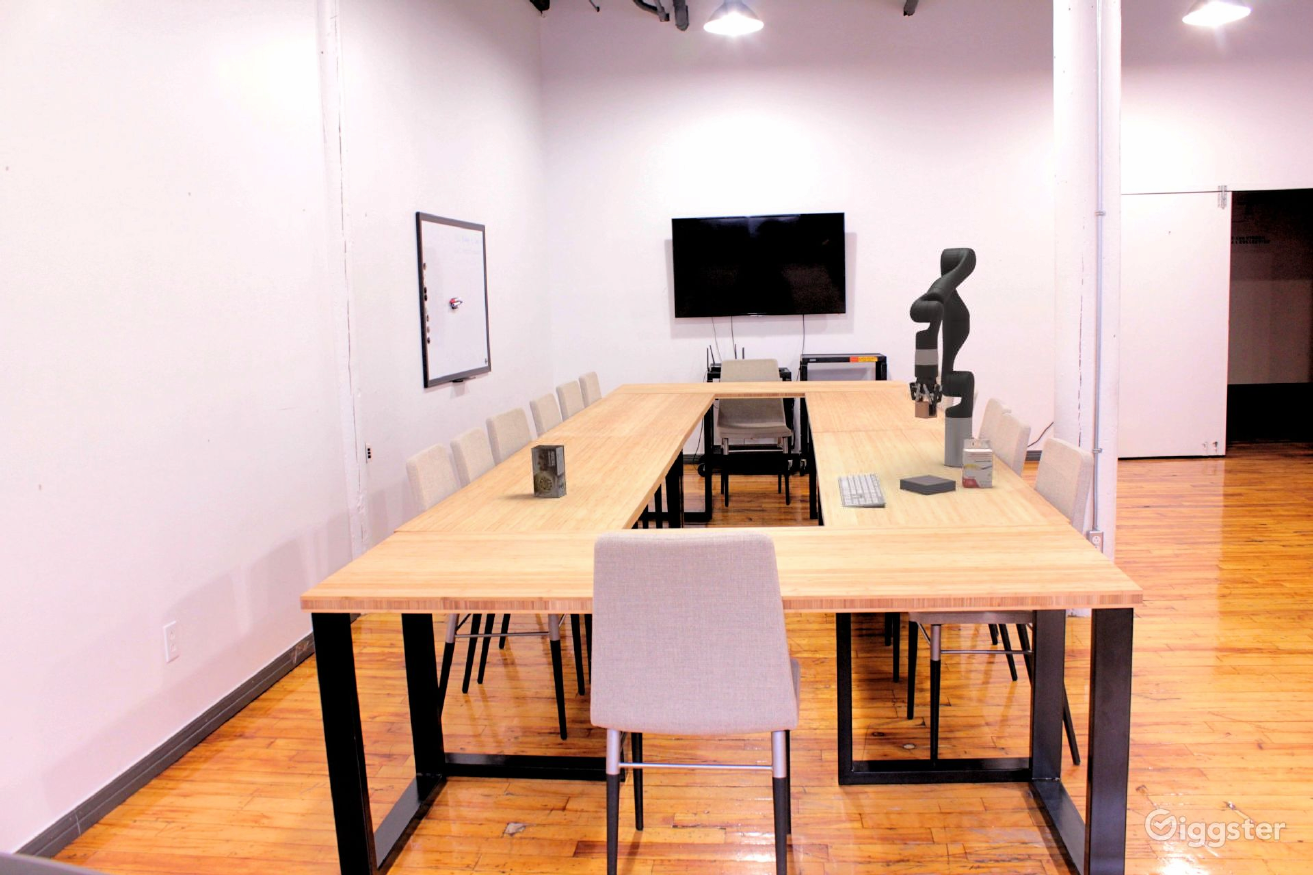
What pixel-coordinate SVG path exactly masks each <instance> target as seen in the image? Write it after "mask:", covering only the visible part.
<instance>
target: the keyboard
mask: <svg viewBox="0 0 1313 875" xmlns="http://www.w3.org/2000/svg"><path fill="white" fill-rule="evenodd" d="M838 483H839V489H840V497H841V503H842V508H844V507H863V508H872V507H873V508H881V507H882V508H885V507H886V504H887V502H886V499H885V496H884V493H883V490H882V488H881V484H880V482H879V479H878V476H877V473H868V474H867V473H865V474H858V475H857V474H856V475H847V476H839V477H838Z"/></svg>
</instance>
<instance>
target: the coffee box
mask: <svg viewBox="0 0 1313 875" xmlns="http://www.w3.org/2000/svg"><path fill="white" fill-rule="evenodd" d="M530 449H531V450H530V451H531V463H532V464H531V465H532V480H533V482H532V484H533V497H534V498H561V497H563V496H565V495H567V476H566V463H565V462H566V458H565V445H564V444H563V445H562V444H538V445H535V446H534V447H532V448H530Z"/></svg>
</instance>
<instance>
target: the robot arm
mask: <svg viewBox="0 0 1313 875" xmlns="http://www.w3.org/2000/svg"><path fill="white" fill-rule="evenodd" d="M939 264H940V265H939V267H940V277H938V278H937V279H936V280H934V282H933V283H931V285H930V287H928V289H927V291H926V292H925V293H923V294H922V295H920V296H919V297H918V298H917V299H915V300H914V301H913V302H912V304H911V306H910V308H909V317H910V319H911V321H912V322H914V323H918V324H922V323H923V324H929V326H928V327H927V329H923V330H918V331H916V333H915V351H914V375H913V376H914V378H916V379H915V381H912V382H909V384H908V386H909V391H910V397H911V398H910V399H911V400H912V401H915V402H921V401H925V397H926V398H927V401H929V404H930V405H929V416H935V414H936V404H937V405H938V403H942V399H943V396H944V397H948V398H961V400H960V402H958V403H957V404H956V405H953V406H949V407H947V408H945V410H944V466H947V467H956V468H962V465H963V449H964V440H965V439H966V440H972V439H975V437H973V414H974V412H973V411H974V400H975V399H974V398H975V397H974V396H975V384H976V382H975V375H974V373H973V372H972V371H970V370H954V364H955V360H956V357H957V355H958V353H959V352H960V350H961V349H962V347H963V346H964V344H965V342H966V341H967V340H968V337H969V336H970V333H971V332H970V331H971V329H970V328H971V319H970V318H971V314H970V311H969V309H968V307H967V305H966V304H965V302H964V301H963V299H962V298H961V296H960V294H959V293H958V290H957V288H958V287H959V286H960V285H961V284H962V283H963V282H965V280H966V279H967V278H968V277H969V276H970V275H972V273H974V270H975V268H976V265H977V255H976V252H975V249H973V248H972V247H971V248H970V247H952V248H951V247H949V248H944V249H943V250H942V252H941V254H940V263H939ZM940 329H941V332H942V334H941V336H942V337H941V338H942V354H941V355H942V358H941V369H940V370H941V371H940V372H941V373H940V384H939V383H938V382H937V378H938V377H939V351H938V350H939V349H938V348H939V332H940ZM915 402H914V403H915ZM972 445H975V443H972Z"/></svg>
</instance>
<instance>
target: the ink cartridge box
mask: <svg viewBox="0 0 1313 875" xmlns="http://www.w3.org/2000/svg"><path fill="white" fill-rule="evenodd" d="M972 443H974V445H972ZM976 443H978V444H976ZM990 444H991V441H990V439H987V438H985V439H983V438H981V439H977V438H974V439H972V440H966V439H965V440H964V449H963V465H962V467H961V468H962V471H961V472H962V474H961V485H962V486H963V487H964V488H993V471H994V470H993V469H994V468H993V467H994V463H993V461H994V451H993V450H992V449H990Z"/></svg>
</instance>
